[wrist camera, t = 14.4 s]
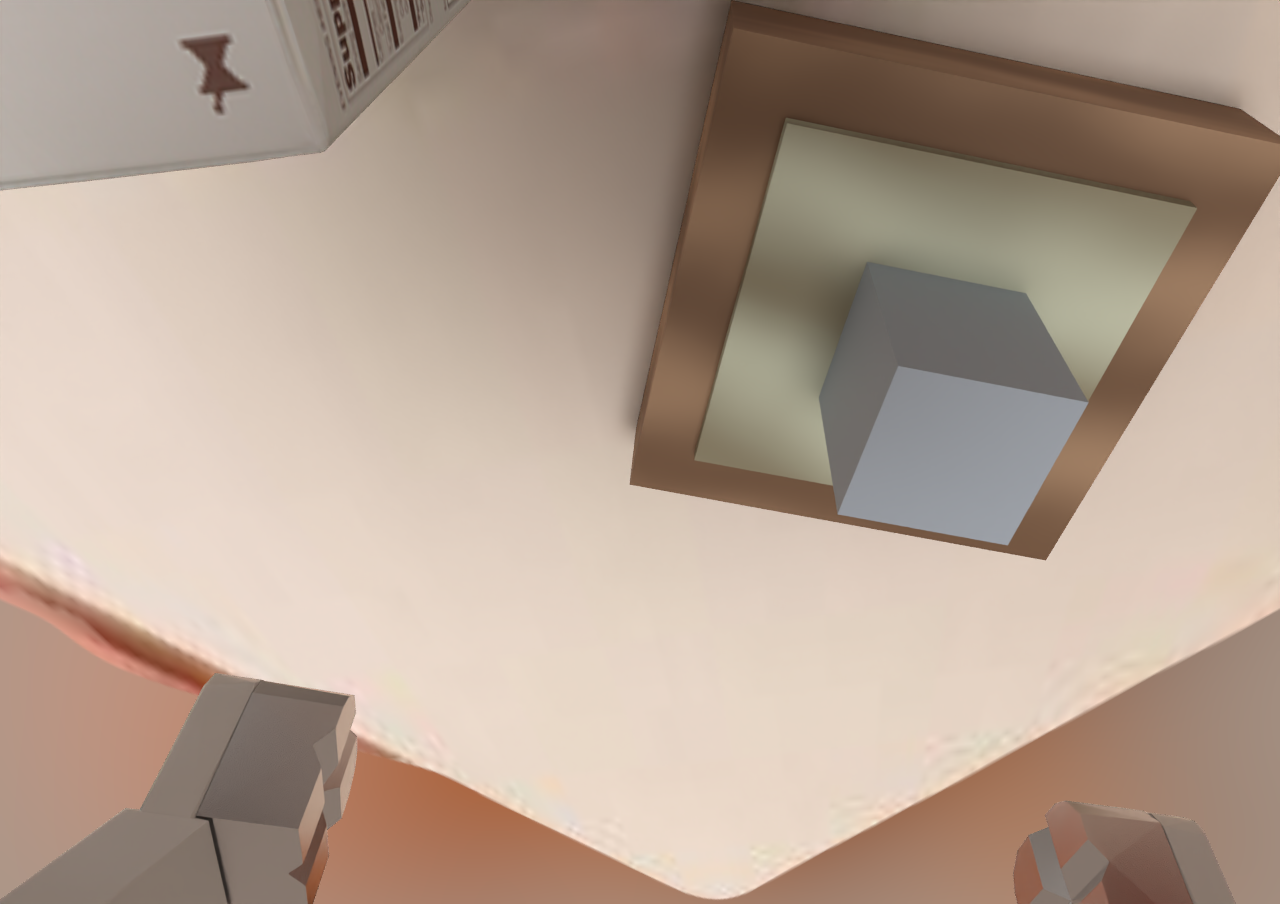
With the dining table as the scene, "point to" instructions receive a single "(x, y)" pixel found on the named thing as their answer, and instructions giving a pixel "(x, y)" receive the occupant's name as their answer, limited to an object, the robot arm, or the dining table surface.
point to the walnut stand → (926, 243)
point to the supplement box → (192, 80)
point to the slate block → (944, 405)
